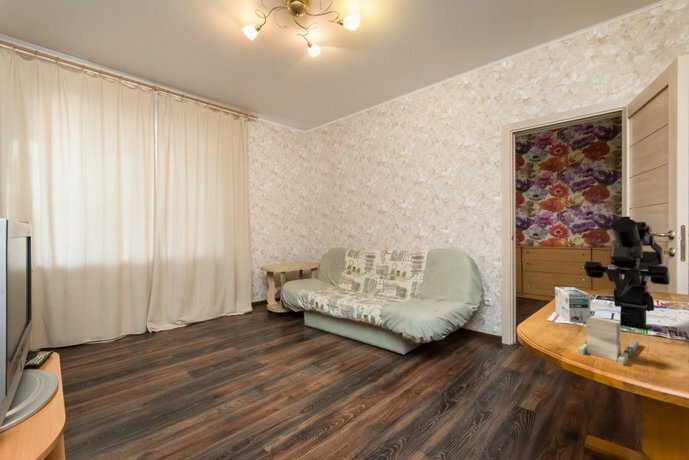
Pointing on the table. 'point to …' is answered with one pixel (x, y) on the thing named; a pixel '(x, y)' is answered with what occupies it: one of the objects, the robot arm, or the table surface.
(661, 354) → the table surface
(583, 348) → the channel
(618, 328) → the cream block
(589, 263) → the robot arm
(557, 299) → the light bulb box
